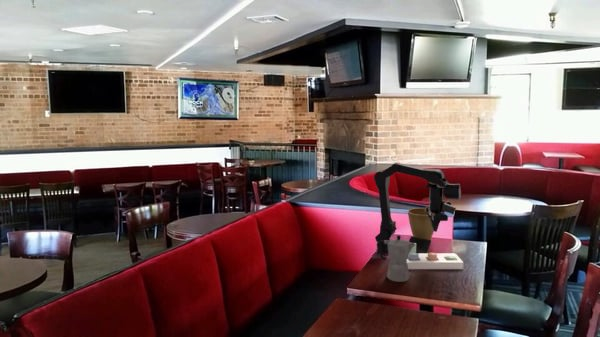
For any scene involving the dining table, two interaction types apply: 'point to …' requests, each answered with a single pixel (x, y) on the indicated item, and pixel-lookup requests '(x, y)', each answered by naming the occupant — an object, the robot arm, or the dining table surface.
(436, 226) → the robot arm
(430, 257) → the terracotta button
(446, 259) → the sage green button
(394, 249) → the coffeepot
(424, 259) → the button panel
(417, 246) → the handheld gaming console
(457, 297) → the dining table surface
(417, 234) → the plant pot
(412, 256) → the slate blue button
